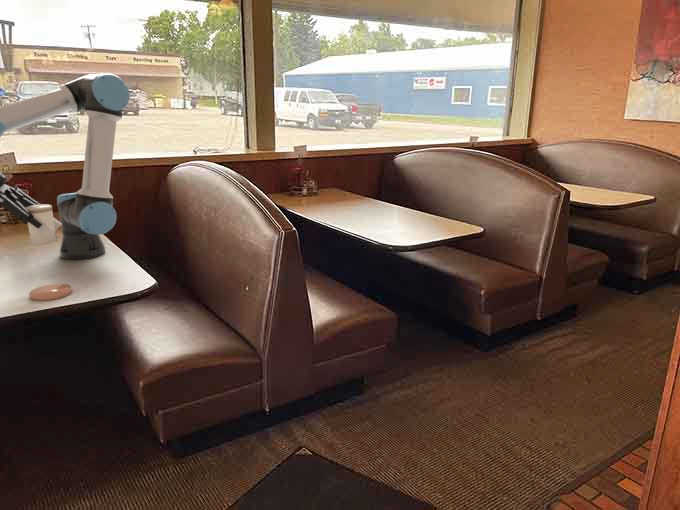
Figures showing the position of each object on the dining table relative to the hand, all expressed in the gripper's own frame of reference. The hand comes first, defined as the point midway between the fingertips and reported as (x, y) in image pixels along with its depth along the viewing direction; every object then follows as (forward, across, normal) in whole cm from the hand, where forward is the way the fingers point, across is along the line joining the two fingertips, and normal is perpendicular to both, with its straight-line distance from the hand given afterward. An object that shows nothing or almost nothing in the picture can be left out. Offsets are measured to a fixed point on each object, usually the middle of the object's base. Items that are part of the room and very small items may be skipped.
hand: (55, 230), depth 160 cm
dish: (+12, +12, -12) cm, 20 cm away
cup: (0, 0, -5) cm, 5 cm away
